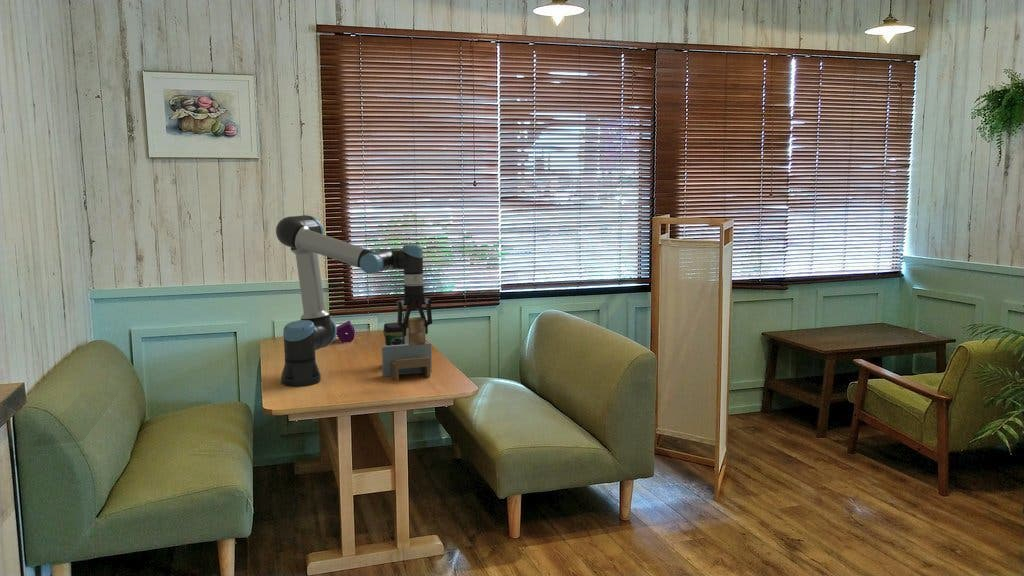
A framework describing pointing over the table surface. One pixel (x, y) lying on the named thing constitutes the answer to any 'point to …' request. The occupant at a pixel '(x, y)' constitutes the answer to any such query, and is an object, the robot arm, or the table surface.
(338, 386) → the table surface
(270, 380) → the table surface
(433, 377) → the table surface
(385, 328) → the coffee jar
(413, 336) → the brown cylinder
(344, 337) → the mounting bracket
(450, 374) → the table surface
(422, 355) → the wall board
